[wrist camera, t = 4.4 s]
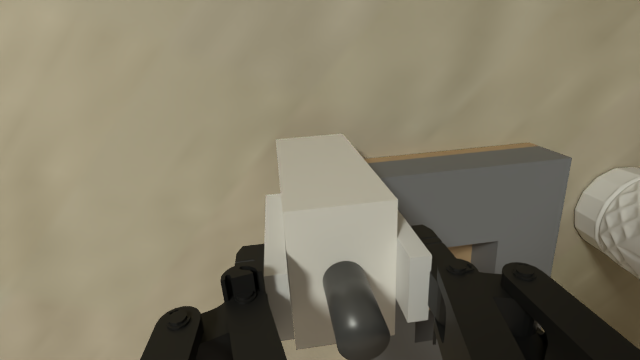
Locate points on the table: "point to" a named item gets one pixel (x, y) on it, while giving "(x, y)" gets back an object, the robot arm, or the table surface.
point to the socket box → (476, 215)
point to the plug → (338, 246)
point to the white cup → (613, 216)
